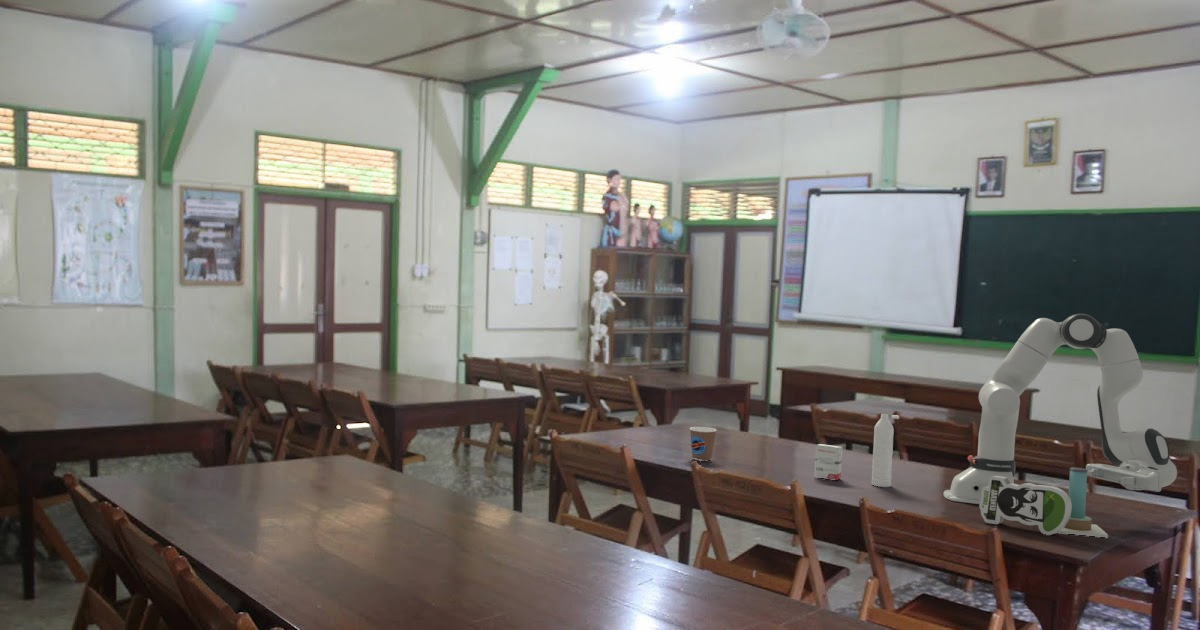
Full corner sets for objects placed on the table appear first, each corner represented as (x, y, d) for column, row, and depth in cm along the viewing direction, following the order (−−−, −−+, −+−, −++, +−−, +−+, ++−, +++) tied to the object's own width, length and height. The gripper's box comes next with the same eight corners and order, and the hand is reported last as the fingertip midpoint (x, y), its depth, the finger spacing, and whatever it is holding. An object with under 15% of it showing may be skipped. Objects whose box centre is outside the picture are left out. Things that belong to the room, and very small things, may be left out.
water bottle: (867, 484, 328) (871, 413, 327) (878, 482, 332) (882, 412, 331) (889, 489, 321) (893, 416, 320) (900, 487, 325) (904, 415, 324)
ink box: (841, 479, 336) (843, 446, 335) (837, 481, 331) (838, 447, 331) (818, 475, 340) (819, 443, 340) (813, 478, 336) (815, 444, 336)
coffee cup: (683, 459, 362) (684, 428, 361) (698, 456, 369) (699, 426, 369) (705, 463, 355) (706, 432, 355) (720, 460, 363) (721, 429, 362)
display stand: (1054, 533, 270) (1055, 519, 270) (1044, 523, 282) (1045, 509, 281) (1107, 538, 267) (1108, 524, 266) (1096, 527, 278) (1096, 514, 278)
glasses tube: (1069, 517, 272) (1072, 469, 272) (1065, 514, 277) (1068, 466, 276) (1086, 519, 271) (1089, 471, 271) (1082, 515, 276) (1085, 468, 275)
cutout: (978, 475, 281) (1067, 483, 264) (982, 474, 283) (1071, 482, 266) (979, 526, 281) (1069, 537, 264) (983, 524, 283) (1072, 536, 266)
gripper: (1103, 458, 294) (1073, 459, 288) (1167, 471, 276) (1137, 473, 270) (1101, 478, 295) (1072, 480, 289) (1166, 493, 276) (1136, 495, 270)
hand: (1104, 477), depth 279 cm, fingers open, 8 cm apart
